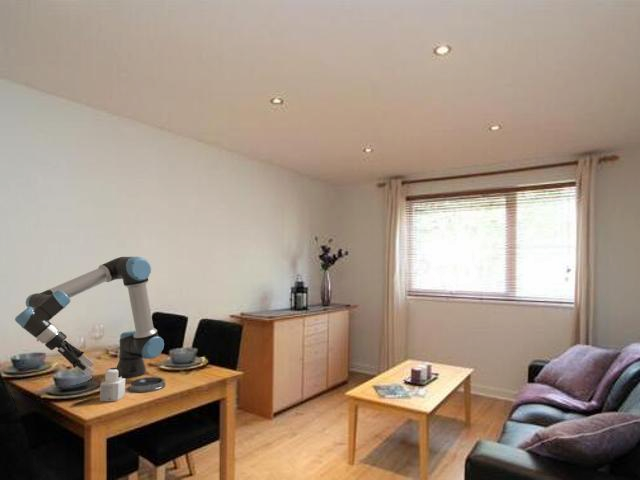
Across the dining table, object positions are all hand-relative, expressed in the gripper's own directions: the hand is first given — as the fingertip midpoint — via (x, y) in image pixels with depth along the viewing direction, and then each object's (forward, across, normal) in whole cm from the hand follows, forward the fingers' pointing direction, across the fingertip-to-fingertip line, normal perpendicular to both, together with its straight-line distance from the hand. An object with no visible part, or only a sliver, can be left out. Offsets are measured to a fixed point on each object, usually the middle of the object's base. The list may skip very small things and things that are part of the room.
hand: (91, 369), depth 170 cm
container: (+16, -1, -4) cm, 17 cm away
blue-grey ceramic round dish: (+27, -11, +7) cm, 30 cm away
